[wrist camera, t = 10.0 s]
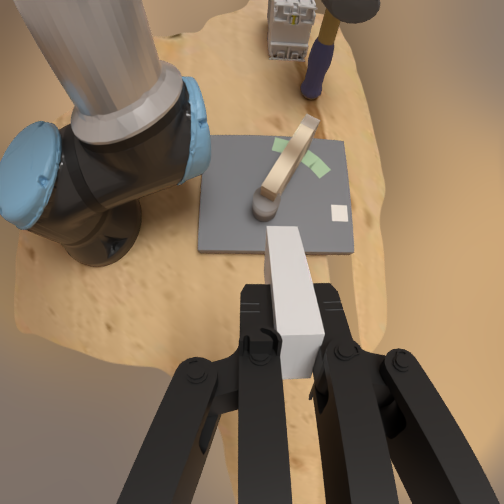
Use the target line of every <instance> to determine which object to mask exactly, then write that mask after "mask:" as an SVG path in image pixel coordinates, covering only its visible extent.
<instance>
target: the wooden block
mask: <svg viewBox="0 0 504 504" xmlns="http://www.w3.org/2000/svg"><path fill="white" fill-rule="evenodd" d="M319 122H320V120H318V119H316V118H314V117H312V116H310V115H308V114H306V115H305V117H304V118H303V120H302V121H301V123H300V125H299V127H298V128H297V130H296V132H295V133H294V135H293V136H292V138H291V139H290V141H289V142H288V144H287V146H286V147H285V149H284V150H283V152H282V153H281V155H280V157H279V158H278V160H277V161H276V163H275V165H274V166H273V168H272V169H271V171H270V173H269V174H268V176H267V177H266V179H265V181H264V182H263V184H262V185H261V187H259V188H258V189H256V191H255V192H254V194H253V204H252V213H253V215H254V217H255V218H256V219H257V220H259V221H262V222H268V221H270V220H272V219H273V218H274V217H275V216H276V213H277V210H278V207H279V204H280V201H281V197H280V196H281V194H282V193H283V191H284V189H285V188H286V186H287V184H288V183H289V181H290V179H291V177H292V176H293V174H294V172H295V171H296V169H297V167H298V166H299V164H300V162H301V161H302V159H303V157H304V156H305V154H306V153H307V151H308V149H309V147H310V145H311V142H312V140H313V137H314V135H315V132H316V130H317V127H318V125H319Z"/></svg>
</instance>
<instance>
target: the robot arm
mask: <svg viewBox="0 0 504 504" xmlns="http://www.w3.org/2000/svg"><path fill="white" fill-rule="evenodd" d="M13 1H14V3H15V5H16V7H17V9H18V11H19V13H20V14H21V16H22V18H23V20H24V22H25V24H26V25H27V27H28V29H29V31H30V32H31V34H32V36H33V38H34V40H35V41H36V43H37V45H38V47H39V48H40V50H41V52H42V54H43V55H44V57H45V59H46V60H47V62H48V64H49V65H50V67H51V68H52V70H53V72H54V73H55V75H56V76H57V78H58V80H59V81H60V83H61V85H62V86H63V88H64V89H65V91H66V93H67V94H68V96H69V97H70V99H71V100H72V102H73V103H74V105H75V107H74V109H73V112H72V115H71V124H69V125H67V126H65V127H63V128H61V129H58V128H57V127H56V126H55V125H54V124H52V123H49V122H44V121H38V122H35V123H33V124H31V125H29V126H27V127H26V128H24V129H23V130H22V131H21V132H20V133H19V134H18V135H17V136H16V137H15V138H14V140H13V141H12V142H11V144H10V145H9V147H8V148H7V150H6V151H5V153H4V156H3V158H2V160H1V162H0V215H1V216H2V217H3V218H4V219H5V220H7V221H9V222H10V223H12V224H14V225H16V227H17V228H19V229H21V230H22V229H23V230H24V229H25V230H27V231H30V232H32V233H35V234H37V235H40V236H42V237H45V238H47V239H50V240H53V241H55V242H58V243H61V245H62V246H63V247H64V248H65V250H66V251H67V252H68V254H69V255H70V256H71V257H72V258H74V259H75V260H77V261H78V262H80V263H83V264H86V265H90V266H95V267H100V266H106V265H109V264H112V263H114V262H116V261H117V260H119V259H120V258H122V257H123V256H124V255H125V254H126V253H127V252H128V251H129V249H130V248H131V247H132V245H133V244H134V242H135V240H136V238H137V236H138V233H139V229H140V225H141V207H140V203H139V200H138V198H141V197H144V196H146V195H149V194H152V193H155V192H158V191H160V190H163V189H166V188H169V187H172V186H175V185H181V184H182V183H184V182H185V181H186V180H189V179H191V178H194V177H196V176H199V175H201V174H203V173H204V172H205V171H206V170H207V169H208V167H209V165H210V162H211V139H210V131H209V126H208V124H207V115H206V109H205V104H204V101H203V97H202V94H201V91H200V88H199V86H198V84H197V82H196V80H195V79H194V78H193V77H184V76H183V77H182V76H181V74H180V71H179V70H178V69H177V68H176V67H175V66H174V65H172V64H170V63H168V62H165V61H162V60H159V57H158V53H157V50H156V47H155V44H154V40H153V37H152V34H151V30H150V27H149V24H148V20H147V17H146V14H145V10H144V7H143V3H142V0H13ZM264 278H265V284H246V285H245V286H244V288H243V290H242V291H241V296H240V338H239V346H238V348H237V350H236V351H235V352H234V353H233V354H232V355H231V356H229V357H227V358H225V359H222V360H218V361H214V362H211V361H210V360H207V359H205V358H201V357H193V358H189V359H186V360H185V361H183V362H182V363H181V364H180V365H179V366H178V368H177V369H176V371H175V374H174V376H173V378H172V380H171V382H170V385H169V387H168V389H167V391H166V393H165V395H164V398H163V400H162V402H161V404H160V406H159V408H158V411H157V413H156V415H155V417H154V419H153V422H152V424H151V426H150V428H149V431H148V433H147V435H146V437H145V440H144V442H143V444H142V446H141V449H140V451H139V453H138V455H137V458H136V460H135V462H134V465H133V467H132V469H131V471H130V474H129V476H128V478H127V481H126V483H125V485H124V488H123V490H122V492H121V495H120V497H119V499H118V501H117V504H191V501H192V499H193V495H194V493H195V490H196V487H197V484H198V481H199V478H200V476H201V473H202V470H203V467H204V464H205V461H206V458H207V455H208V452H209V449H210V446H211V444H212V441H213V437H214V435H215V432H216V429H217V426H218V423H219V420H220V417H221V414H223V413H227V412H230V411H234V410H237V409H238V504H292V492H291V478H290V464H289V452H288V439H287V427H286V415H285V403H284V392H283V381H282V379H302V378H311V375H312V372H313V376H314V384H313V386H312V389H311V392H310V394H309V400H312V397H313V400H314V407H315V414H316V422H317V429H318V437H319V445H320V453H321V461H322V470H323V479H324V488H325V498H326V504H399V501H398V496H397V490H396V484H395V479H394V474H393V469H392V464H391V461H392V463H393V465H394V467H395V469H396V471H397V473H398V475H399V477H400V479H401V481H402V483H403V485H404V487H405V489H406V491H407V493H408V496H409V498H410V500H411V502H412V504H499V501H498V499H497V497H496V495H495V493H494V491H493V489H492V487H491V485H490V483H489V481H488V479H487V477H486V475H485V473H484V471H483V469H482V467H481V465H480V463H479V461H478V460H477V458H476V456H475V454H474V452H473V450H472V449H471V447H470V445H469V443H468V442H467V440H466V438H465V436H464V434H463V433H462V431H461V429H460V428H459V426H458V424H457V423H456V421H455V419H454V417H453V416H452V415H451V413H450V411H449V409H448V408H447V406H446V405H445V403H444V401H443V400H442V398H441V396H440V395H439V393H438V392H437V390H436V388H435V387H434V385H433V384H432V382H431V381H430V379H429V378H428V376H427V375H426V373H425V372H424V370H423V369H422V367H421V365H420V364H419V362H418V361H417V359H416V358H415V357H414V356H413V355H412V354H411V353H410V352H408V351H407V350H405V349H399V348H398V349H393V350H391V351H390V352H388V353H387V355H386V356H385V355H379V354H374V353H370V352H366V351H364V350H362V349H361V347H360V345H358V344H357V343H356V342H355V341H353V338H352V336H351V333H350V329H349V326H348V323H347V319H346V316H345V313H344V310H343V307H342V304H341V300H340V297H339V294H338V291H336V289H335V288H334V287H333V286H332V285H331V284H330V283H312V279H311V275H310V271H309V267H308V263H307V260H306V256H305V252H304V248H303V245H302V241H301V237H300V234H299V230H298V227H296V226H267V227H266V245H265V262H264Z"/></svg>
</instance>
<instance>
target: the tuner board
mask: <svg viewBox="0 0 504 504" xmlns="http://www.w3.org/2000/svg"><path fill="white" fill-rule="evenodd" d="M291 138H292V137H285V136H259V135H210V139H211V162H210V165H209V167H208V169H207V170H206V171H205V172H204V173H203V174H202V184H201V198H200V214H199V233H198V251H199V252H200V253H235V254H265V245H266V227H267V226H296V227H298V230H299V234H300V237H301V241H302V245H303V248H304V252H305V254H306V255H350V254H352V253H354V240H353V224H352V211H351V200H350V189H349V180H348V171H347V162H346V155H345V147H344V141H337V140H327V139H315V138H313V140H312V142H311V145H310V147H309V149H308V151H307V153H306V154H305V156H304V157H303V159H302V161H301V162H300V164H299V166H298V167H297V169H296V171H295V172H294V174H293V176H292V177H291V179H290V181H289V183H288V184H287V186H286V188H285V189H284V191H283V193H282V194H281V196H280V197H281V201H280V204H279V207H278V210H277V213H276V216H275V217H274V218H273V219H272V220H270V221H268V222H262V221H259V220H257V219H256V218H255V217H254V215H253V213H252V204H253V194H254V192H255V191H256V189H258V188H259V187H261V185H262V184H263V182H264V181H265V179H266V177H267V176H268V174H269V173H270V171H271V169H272V168H273V166H274V165H275V163H276V161H277V160H278V158H279V157H280V155H281V153H282V152H283V150H284V149H285V147H286V146H287V144H288V142H289V141H290V139H291Z"/></svg>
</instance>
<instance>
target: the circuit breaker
mask: <svg viewBox="0 0 504 504" xmlns="http://www.w3.org/2000/svg"><path fill="white" fill-rule="evenodd" d="M315 10H317V8H316V4H315V1H314V0H269V1H268V13H267V18H268V36H267V40H268V51H269V56H271V57H269V60H287V61H302V62H305V59H304V57H306V55H307V50H308V41H309V37H310V32H311V28H312V25H314V21H315V17H316V14H315ZM273 55H276V58H274V57H273ZM284 57H286V58H284ZM298 57H300V59H298ZM292 58H295V59H292Z"/></svg>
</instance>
